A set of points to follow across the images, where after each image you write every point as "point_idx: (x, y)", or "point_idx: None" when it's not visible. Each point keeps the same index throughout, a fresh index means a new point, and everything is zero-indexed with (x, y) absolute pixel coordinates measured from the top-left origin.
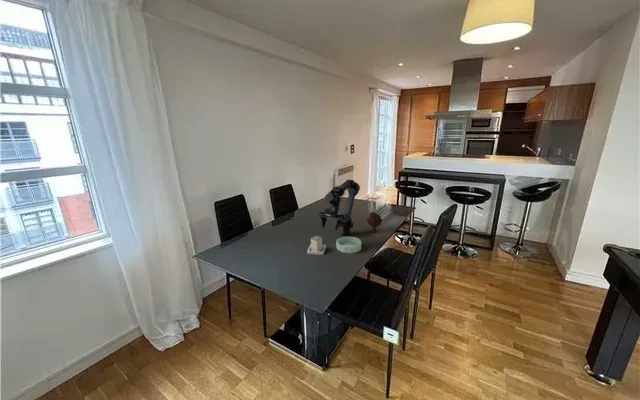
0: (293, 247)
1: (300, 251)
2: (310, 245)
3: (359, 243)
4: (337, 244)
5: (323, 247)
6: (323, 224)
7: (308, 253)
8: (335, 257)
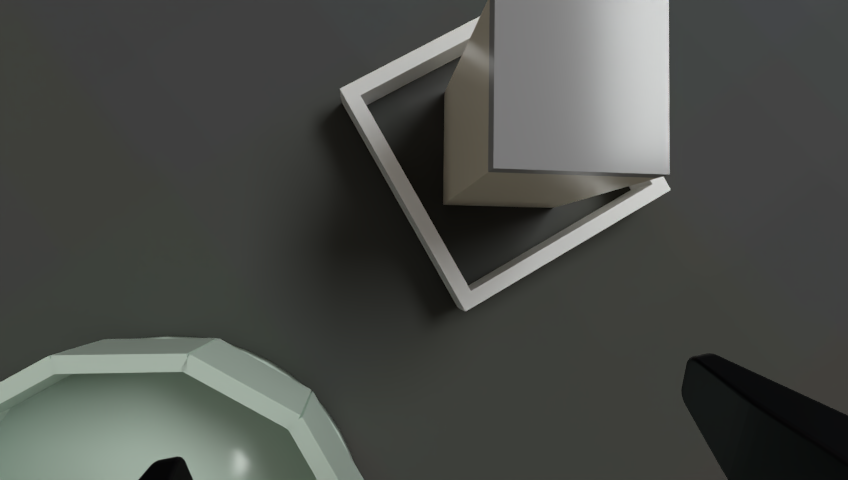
0: (811, 39)
1: None
2: None
3: None
4: (251, 381)
5: (482, 278)
6: (795, 441)
7: None
8: (147, 146)
